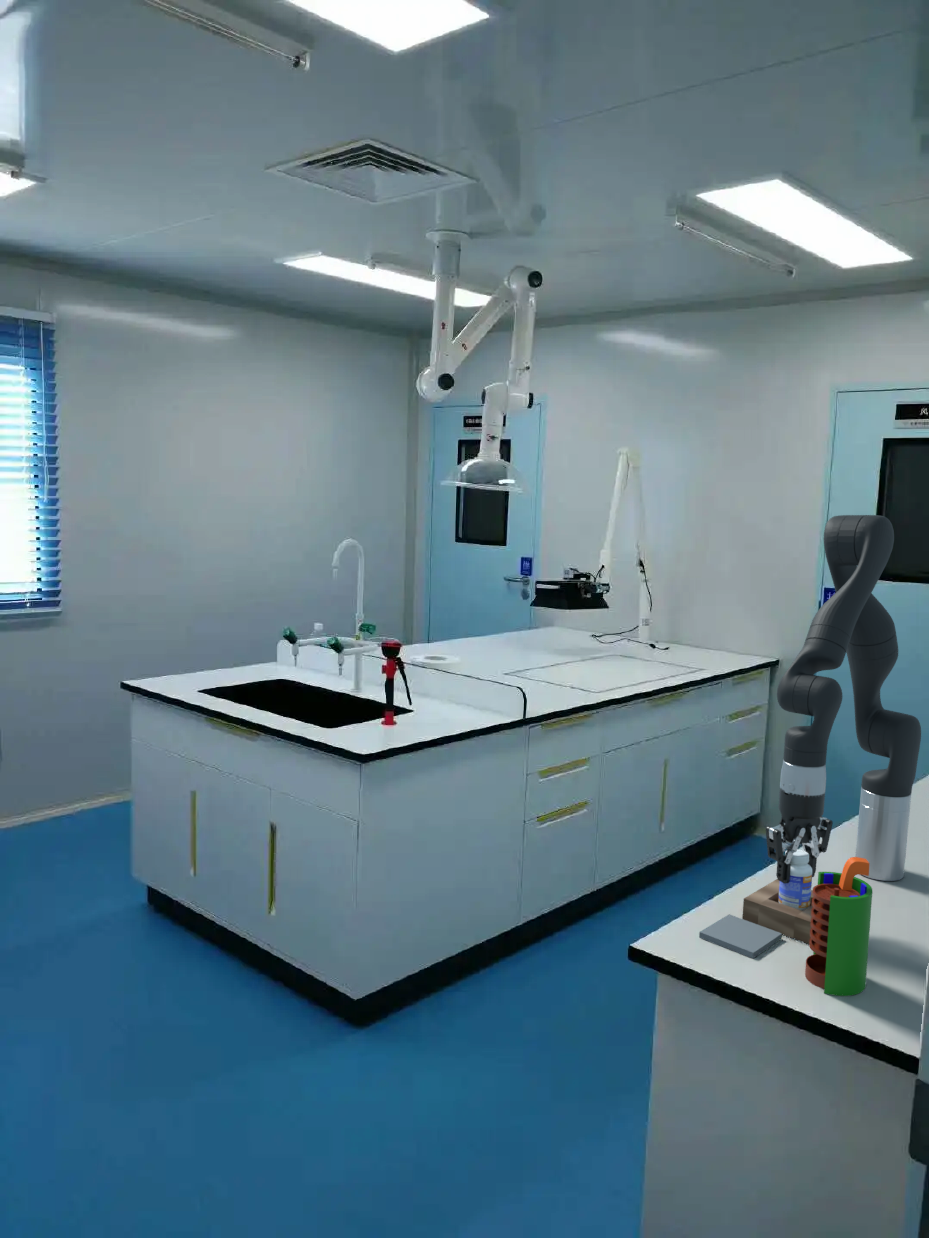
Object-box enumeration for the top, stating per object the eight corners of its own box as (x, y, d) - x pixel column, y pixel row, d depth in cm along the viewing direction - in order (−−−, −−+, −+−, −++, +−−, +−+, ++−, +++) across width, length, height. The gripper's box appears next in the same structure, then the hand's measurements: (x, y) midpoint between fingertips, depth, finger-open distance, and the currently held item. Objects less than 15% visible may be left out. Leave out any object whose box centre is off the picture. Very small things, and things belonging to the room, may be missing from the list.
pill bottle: (806, 914, 168) (810, 861, 167) (774, 907, 171) (778, 854, 169) (812, 903, 173) (816, 851, 171) (781, 896, 175) (785, 845, 174)
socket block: (775, 899, 181) (777, 878, 180) (841, 921, 172) (843, 900, 171) (742, 919, 172) (743, 898, 171) (810, 944, 163) (811, 922, 163)
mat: (728, 919, 172) (729, 914, 172) (781, 938, 165) (781, 933, 165) (699, 937, 165) (699, 931, 165) (752, 958, 158) (753, 952, 158)
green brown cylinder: (793, 963, 157) (802, 845, 154) (846, 962, 157) (856, 845, 154) (821, 996, 147) (831, 871, 144) (877, 995, 147) (889, 870, 144)
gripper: (815, 775, 175) (809, 864, 177) (756, 785, 168) (749, 877, 171) (849, 787, 168) (841, 879, 171) (788, 798, 162) (781, 894, 164)
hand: (795, 878), depth 171 cm, fingers closed on pill bottle, 5 cm apart
